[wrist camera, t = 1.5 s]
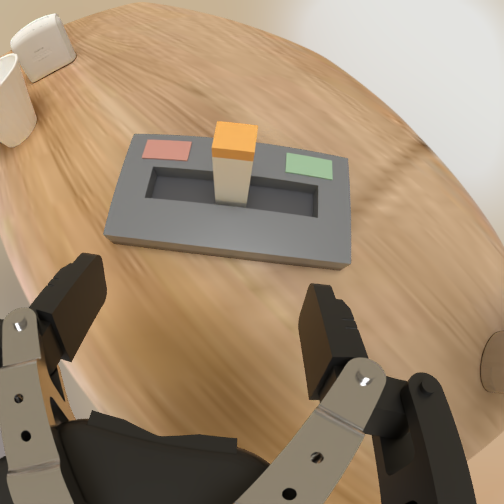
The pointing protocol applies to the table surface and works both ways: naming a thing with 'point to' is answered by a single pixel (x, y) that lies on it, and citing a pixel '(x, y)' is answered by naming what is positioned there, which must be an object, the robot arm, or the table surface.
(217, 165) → the handle
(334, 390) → the robot arm
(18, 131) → the cup
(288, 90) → the table surface
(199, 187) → the slotted lever switch base
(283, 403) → the table surface
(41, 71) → the photo printer
